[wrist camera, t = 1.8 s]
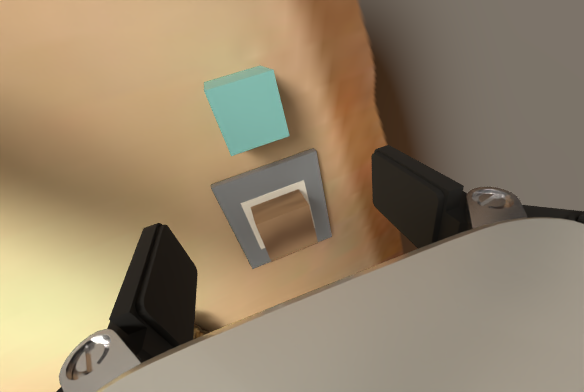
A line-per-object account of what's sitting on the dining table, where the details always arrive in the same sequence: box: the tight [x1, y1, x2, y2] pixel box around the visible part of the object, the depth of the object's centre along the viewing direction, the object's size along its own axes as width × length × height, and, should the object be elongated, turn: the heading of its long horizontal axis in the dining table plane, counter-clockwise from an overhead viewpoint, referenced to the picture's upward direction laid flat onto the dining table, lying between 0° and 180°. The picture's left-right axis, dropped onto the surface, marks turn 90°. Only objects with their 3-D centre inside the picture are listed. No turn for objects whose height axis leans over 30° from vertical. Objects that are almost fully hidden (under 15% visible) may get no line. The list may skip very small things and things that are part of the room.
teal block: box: [204, 66, 289, 156], centre depth 24 cm, size 6×6×6 cm
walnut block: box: [251, 189, 318, 262], centre depth 33 cm, size 7×7×4 cm
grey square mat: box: [211, 148, 332, 269], centre depth 35 cm, size 16×14×1 cm
